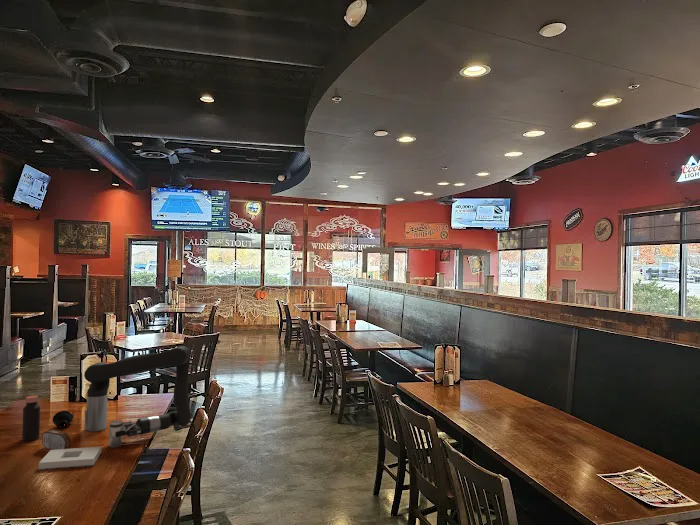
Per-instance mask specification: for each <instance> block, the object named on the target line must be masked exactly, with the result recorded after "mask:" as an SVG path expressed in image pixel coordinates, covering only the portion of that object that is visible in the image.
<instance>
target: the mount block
mask: <svg viewBox="0 0 700 525" xmlns="http://www.w3.org/2000/svg"><path fill="white" fill-rule="evenodd" d="M100 454H101V455H102V446H91V447H87V446H86V447H77V448H76V447H75V448H69V449H58V450H50V449H49V451H48V453H46V455H45V456H44V457H43V458H42V459H40V461H39V462H38V471H46V469H48V470H56V469H55V468H61V469H71V468H70V467H74V468H84V467H85V466H87V467H94V466H95V465H96V463H95V462H97V461H98V460H99V458H100V456H101V455H100ZM93 465H94V466H93Z"/></svg>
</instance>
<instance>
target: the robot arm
mask: <svg viewBox="0 0 700 525" xmlns="http://www.w3.org/2000/svg"><path fill="white" fill-rule="evenodd" d="M191 353H192V352H191V350H190V349H189V347H188V346H184V345H182V346H176V347H174V348H171V349H168V350H164V351H161V352H155V353H153V352H152V353H143V354H142V353H141V354H137V355H133V356H128V357H125V358H122V359H119V360H117V361H115V362H110V363H106V362H103V361H99V362H95V363H93V364H91V365H89V366H88V367H87V368H86V369H85V371H84V374H83V376H84V378H85V380H86V381H87V382H89V383H90V385H89V387H88V389H87V390H86V410H84V430H86V431H87V432H100V431H104V430H106V429H107V424H108V423H107V422H108V420H107V419H108V415H107V414H108V392H109V388H110V380H111V379H113V378H119V377H126V376H133V375H139V374H144V373H147V372H151V371H153V370H157V369H159V368H166V367H172V366H173V367H175V370H176V371H175V373H176V374H175V380H174V386H173V405H174V407H175V408H176V410H175V411H171V412H167V413H166V414H160V415H150V416H147V417H141V418H137V419H136V422H132V421H125V422H122V431H118V432H116V433H115V436H116V437H120V436H122V437H123V436H124V437H132V436H133V437H134V436H138V435H139V436H142V435H146V434H151V433H154V432H158V431H162V430H166V429H168V428H170V427H173V426H180V427H186V426H188V425H189V424H190V422H191V418H192V413H191V408H190V405H189V404H190V403H189V371H190V365H191V364H190V362H191V357H192V356H191V355H192V354H191Z"/></svg>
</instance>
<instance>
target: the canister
mask: <svg viewBox="0 0 700 525" xmlns="http://www.w3.org/2000/svg"><path fill="white" fill-rule="evenodd" d="M122 423H123V420H122V419H121V420H120V419H118V420H117V419H116V420H111V421H110V422H109V444H108V445H109V448H112V449H114V448H115V447H116V448H119V446H120V447H121V446H122V443H123V442H122V441H123V440H122V439H123V438H122V437H123V436H120V437H116V436H115V433H116V432H118V431H122V427H123V426H122Z"/></svg>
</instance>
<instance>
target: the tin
mask: <svg viewBox="0 0 700 525" xmlns="http://www.w3.org/2000/svg"><path fill="white" fill-rule="evenodd" d="M41 443H42V446H43V447H44V448H45V449H47V450H50V449H51V450H58V449H70V447H71V445H72V444H71V443H72V440H71V437H70V435H69V434H68V433H67V432H66V431H62V430H58V429H53V428H52V429H49V430H46V431H45V432H43V433H42V435H41Z"/></svg>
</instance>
